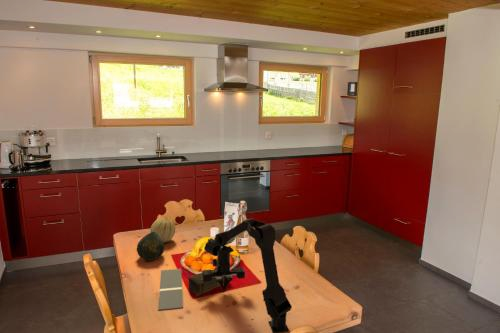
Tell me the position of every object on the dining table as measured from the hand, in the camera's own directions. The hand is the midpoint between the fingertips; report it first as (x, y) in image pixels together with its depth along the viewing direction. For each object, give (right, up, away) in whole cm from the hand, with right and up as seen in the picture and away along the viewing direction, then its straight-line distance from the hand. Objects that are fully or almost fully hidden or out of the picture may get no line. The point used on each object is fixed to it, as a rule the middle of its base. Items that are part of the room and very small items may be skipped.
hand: (223, 291), depth 154 cm
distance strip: (-25, 0, +4) cm, 25 cm away
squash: (-43, +6, +34) cm, 55 cm away
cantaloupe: (-42, +10, +56) cm, 70 cm away
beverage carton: (-7, 0, +7) cm, 10 cm away
